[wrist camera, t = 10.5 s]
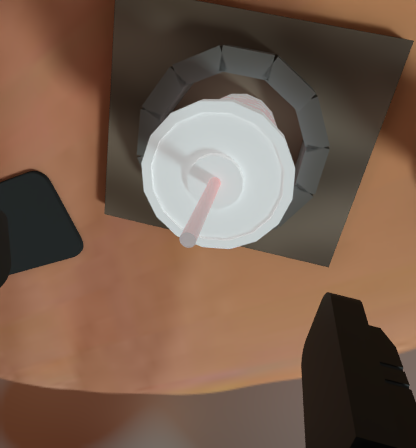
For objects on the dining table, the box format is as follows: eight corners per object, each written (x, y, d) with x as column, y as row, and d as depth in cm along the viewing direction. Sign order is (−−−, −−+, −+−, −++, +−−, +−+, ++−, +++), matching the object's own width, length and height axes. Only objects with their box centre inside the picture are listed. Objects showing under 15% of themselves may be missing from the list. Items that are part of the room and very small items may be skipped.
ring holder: (123, -12, 22) (95, -22, 18) (406, 41, 20) (430, 40, 17) (111, 207, 28) (88, 229, 25) (326, 258, 27) (332, 288, 23)
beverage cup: (224, 56, 21) (145, 74, 9) (312, 120, 22) (354, 221, 9) (171, 144, 24) (51, 255, 11) (249, 199, 25) (218, 359, 12)
